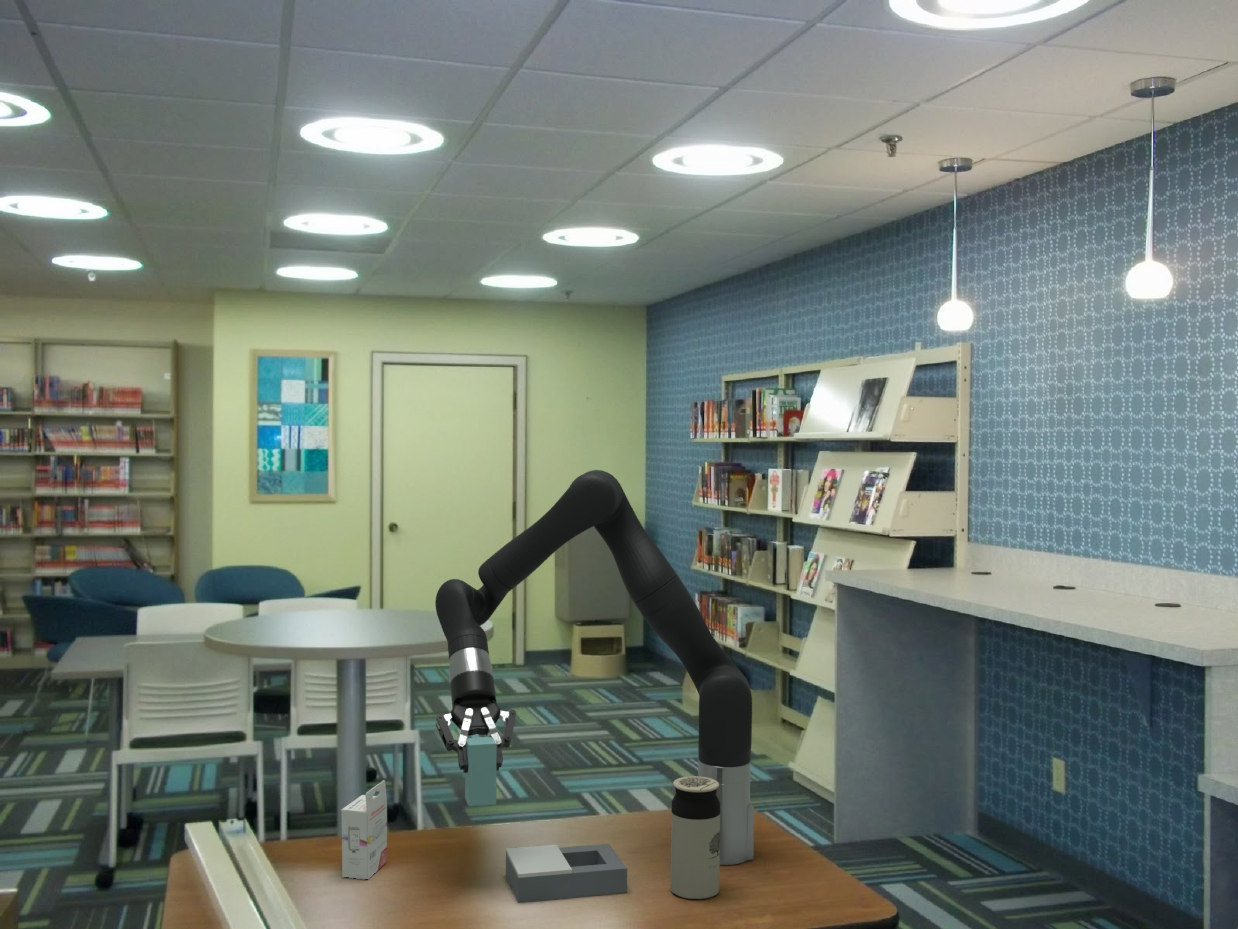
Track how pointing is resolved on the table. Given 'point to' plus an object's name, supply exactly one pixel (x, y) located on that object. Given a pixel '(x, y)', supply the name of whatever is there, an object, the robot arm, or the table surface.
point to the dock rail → (564, 872)
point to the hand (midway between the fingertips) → (481, 769)
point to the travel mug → (695, 838)
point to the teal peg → (481, 771)
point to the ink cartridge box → (365, 834)
